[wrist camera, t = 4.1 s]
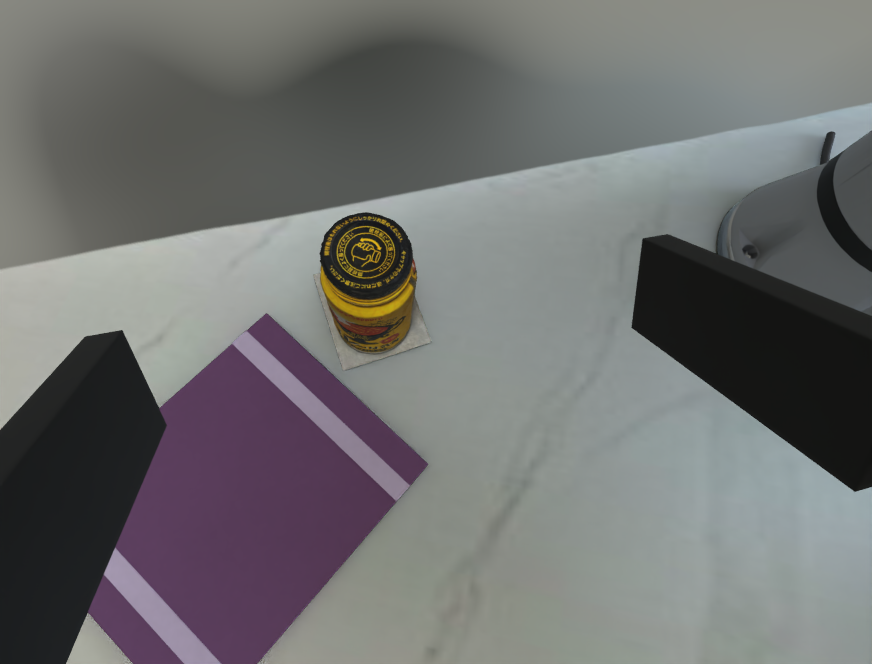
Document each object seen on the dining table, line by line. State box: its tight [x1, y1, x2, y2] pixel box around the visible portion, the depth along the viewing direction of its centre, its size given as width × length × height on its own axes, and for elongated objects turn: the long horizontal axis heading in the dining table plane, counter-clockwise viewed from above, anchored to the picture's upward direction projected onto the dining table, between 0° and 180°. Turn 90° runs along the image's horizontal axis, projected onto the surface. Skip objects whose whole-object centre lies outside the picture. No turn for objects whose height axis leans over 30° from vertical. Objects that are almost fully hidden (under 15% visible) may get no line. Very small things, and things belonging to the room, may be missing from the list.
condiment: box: [313, 212, 432, 371], centre depth 32 cm, size 7×8×12 cm
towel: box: [88, 314, 428, 664], centre depth 32 cm, size 21×17×1 cm
